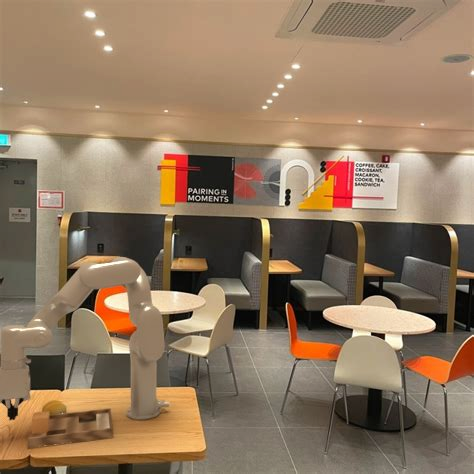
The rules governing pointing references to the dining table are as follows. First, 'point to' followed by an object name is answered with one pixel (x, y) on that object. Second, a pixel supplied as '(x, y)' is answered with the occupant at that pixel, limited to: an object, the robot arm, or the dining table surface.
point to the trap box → (75, 428)
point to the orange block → (40, 422)
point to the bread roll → (54, 407)
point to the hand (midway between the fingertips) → (12, 418)
